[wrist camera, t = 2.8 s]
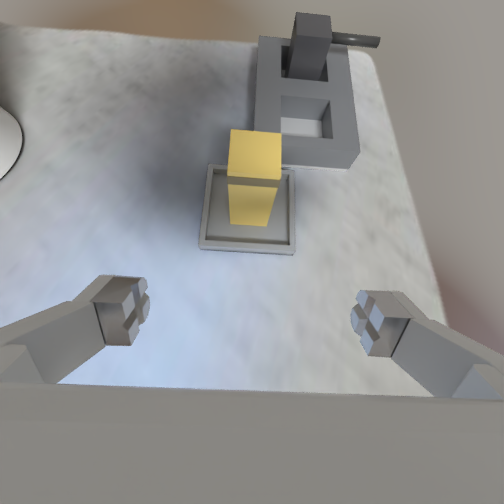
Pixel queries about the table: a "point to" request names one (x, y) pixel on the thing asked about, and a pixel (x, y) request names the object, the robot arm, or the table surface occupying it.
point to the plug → (253, 175)
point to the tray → (246, 236)
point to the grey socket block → (309, 94)
